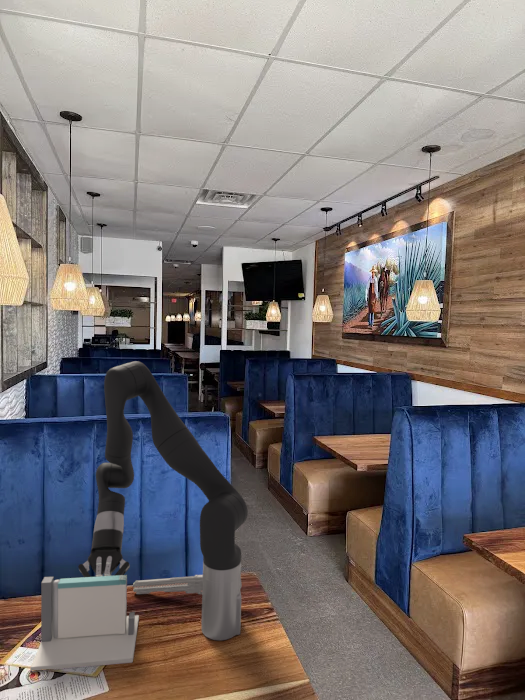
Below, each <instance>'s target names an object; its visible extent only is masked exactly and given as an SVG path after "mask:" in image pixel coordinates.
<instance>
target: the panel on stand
mask: <svg viewBox="0 0 525 700" xmlns="http://www.w3.org/2000/svg"><path fill="white" fill-rule="evenodd" d="M54 581H55V580H54V576H44V577H43V579H42V581H41V583H40V584H41V585H40V586H41V590H40V591H41V593H40V595H41V596H40V597H41V600H40V601H41V603H40V604H41V612H40V613H41V617H40V618H41V621H40V623H41V624H40V625H41V627H40V628H41V629H40V631H41V633H40V635H41V637H40V639H41V640H40V641H41V642H40V644H39V647H38V649H37V651H36V653H35V656H34V658H33V659H32V663H31V665H30V668H29V669H30V670H31V671H32V670H41V669H54V670H63V669H64V668H65V669H74V668H86V666H87V667H88V668H89V667H98V666H108V665H116V664H117V665H118V664H119V665H120V664H132V663H133V661H134V656H135V649H136V641H137V634H138V628H139V627H138V625H139V620H140V615H139V614H135V613H136V612H135V611H132V612H129V613H128V614H129V615H126V632H125V634H106V635H93V636H80V637H68V638H54V637H53V582H54ZM61 668H62V669H61ZM30 670H29V671H30ZM31 671H30V672H31ZM32 672H33V671H32Z"/></svg>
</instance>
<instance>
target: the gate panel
mask: <svg viewBox="0 0 525 700" xmlns="http://www.w3.org/2000/svg"><path fill="white" fill-rule="evenodd" d="M127 590H128V575H127V574H124V575H116V576H114V575H111V576H104V575H103V576H99V577H96V576H91V577H84V576H83V577H71V578H70V577H67V578H66V577H65V578H59V579H55V580H54V582H53V637H54V638H68V637H80V636H93V635H106V634H125V632H126V616H127V608H128V607H127V599H128V597H127V596H128V595H127V593H128V592H127Z"/></svg>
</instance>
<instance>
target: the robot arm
mask: <svg viewBox="0 0 525 700" xmlns="http://www.w3.org/2000/svg"><path fill="white" fill-rule="evenodd" d="M103 383H104V384H103V387H104V388H103V389H104V401H105V402H104V404H105V413H106V414H105V415H106V425H107V426H106V427H107V429H106V430H107V431H106V439H105V448H104V449H105V451H104V458H105V460H106V461H107V462H102V463H101V464H99V465H98V466H97V468H96V470H95V471H96V472H95V480H96V485H97V492H98V503H97V504H98V505H97V511H96V513H97V514H96V519H95V523H94V526H93V527H94V528H93V533H92V534H93V535H92V542H91V550H90V554H89V556H88V557H87V560H86V561H85V562H84V563H80V564H78V570H79V572H80V573H81V575H82V576H83V577H92V576H91V574H90V572H89V571H90V568H91V569H92V570H93V572H94V573H95V577H99V576H112V573H114V572H115V571H116V569H118V567H119V569H118V570H117V571H116V573H115V574H114V575H113V576H116V575H126V573H127V572H128V570H130V566H131V565H130V562H129V561H126V560H124V559H123V558H124V557H123V554H122V550H123V549H122V548H123V547H122V546H123V537H124V531H125V530H124V526H125V524H124V523H125V521H124V520H125V519H124V518H125V517H124V515H125V507H126V506H125V505H126V498H125V496H124V495H123V494H121V493H119V492H116V491H112V490H111V489H127V488H129V487H130V486H131V485H132V484H133V482H134V480H135V472H134V467H133V463H132V448H133V442H134V441H133V439H134V436H133V435H134V433H133V430H132V429H133V428H132V426H131V424H130V423H129V422H128V420H127V418H126V416H125V413H124V411H125V406H126V403H127V401H129V400H132V399H134V398H137V397H139V398H140V399H141V400H142V401H143V403H144V405H145V406H146V408H147V409H148V412H149V416H150V421H151V424H150V425H151V426H150V428H151V437H152V441H153V444H154V445H153V446H154V448H155V449H156V451H157V452H158V453H159V455H160V456H161V457H162V459H163V460H164V462H165V463H166V464H167V466H169V467H170V468H171V469H172V470H173V471H175V472H176V473H178V474H180V475H181V476H183V477H184V478H186V479H187V480H189V481H191V482H192V483H193V484H194V485H196V486H197V488H199V490H201V492H202V493H203V494H204V495H205V498H206V499H207V500H208V502H206V503H205V504H204V505H203V507H202V508H201V512H200V517H199V545H200V552H201V554H202V556H203V557H202V575H203V588H202V590H201V592H202V594H201V595H202V596H201V597H202V598H201V620H200V621H201V632H202V634H203V635H204V636H205V637H206V638H207V639H210V640H212V641H213V640H214V641H227V640H229V639H231V638H233V637H235V636H237V635H241V628H242V627H241V626H242V625H241V622H242V619H241V618H242V594H241V589H240V580H241V581H242V575H241V574H242V571H241V570H242V549H241V548H240V546H239V545H238V544H236V539H235V538H236V537H235V535H236V533H235V532H236V531H237V530H238V529H239V528H241V526H242V525H243V524H244V523H245V521H246V520H247V518H248V512H249V511H248V505H247V503H246V502H245V499H244V498H243V496H242V495H241V494H240V492H239V491H238V490H237V489H236V488H235V487H234V486H233V485H232V483H230V482H229V480H228V479H226V477H225V476H224V474H222V473H221V471H220V470H219V469H218V468H217V466H216V465H215V464H214V462H213V461H212V460H211V458H210V457H209V456H208V455H207V453H206V452H205V450H204V449H203V448H202V447H201V444H200V443H199V442H198V440H197V439H196V438H195V436H194V435H193V433H192V431H191V430H190V429H189V428H188V427H187V425H186V424H185V423H184V422H183V420H182V419H181V418H180V416H179V415H178V414H177V412H176V410H175V408H174V407H173V406H172V405H171V403H170V401H169V400H168V399H167V397H166V395H165V393H164V392H163V391H162V388H161V387H160V385H159V384H158V381H157V380H156V378H155V376H154V375H153V373H152V372H151V371H150V369H149V368H148V367H147V366H146V365H145V364H144V363H143V362H141V361H139V360H138V361H136V360H135V361H130V362H127V363H123V364H121V365H117V366H114V367H111V368H109V370H107V371H106V373H105V376H104V382H103Z"/></svg>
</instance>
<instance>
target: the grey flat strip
mask: <svg viewBox="0 0 525 700" xmlns="http://www.w3.org/2000/svg"><path fill="white" fill-rule="evenodd" d="M242 584H243V583H242V579H241V580H240V590H241V589H242V586H243V585H242ZM132 588H133V590H132V591H133V593H136V595H147V594H148V595H149V594H151V593H154V592H157V593H158V592H164V593H173V592H176V593H177V592H179V593H180V592H185V594H197V595H202V588H203V574H194V575H191V576H180V577H170V578H156V579H144V580H143V579H142V580H137V579H136V580H135V581H134V582H133V584H132Z"/></svg>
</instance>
